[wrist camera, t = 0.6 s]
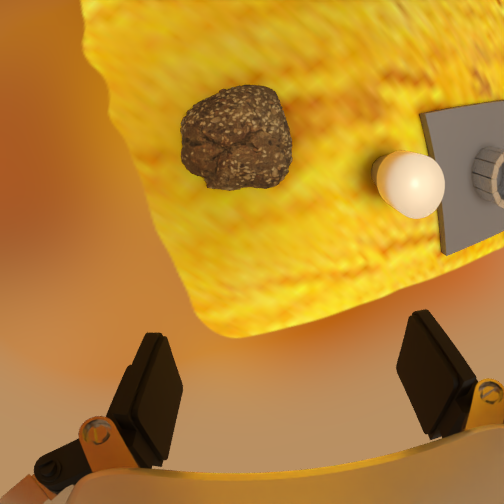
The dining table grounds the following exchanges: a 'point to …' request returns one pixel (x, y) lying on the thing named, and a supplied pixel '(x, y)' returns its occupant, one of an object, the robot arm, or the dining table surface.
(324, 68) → the dining table surface
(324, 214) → the dining table surface
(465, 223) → the square plate with socket
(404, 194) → the plug
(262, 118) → the seeded bread roll
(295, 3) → the dining table surface
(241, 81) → the dining table surface
